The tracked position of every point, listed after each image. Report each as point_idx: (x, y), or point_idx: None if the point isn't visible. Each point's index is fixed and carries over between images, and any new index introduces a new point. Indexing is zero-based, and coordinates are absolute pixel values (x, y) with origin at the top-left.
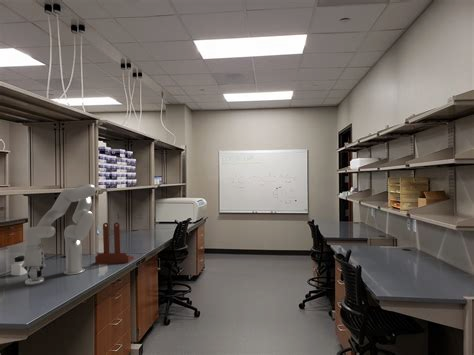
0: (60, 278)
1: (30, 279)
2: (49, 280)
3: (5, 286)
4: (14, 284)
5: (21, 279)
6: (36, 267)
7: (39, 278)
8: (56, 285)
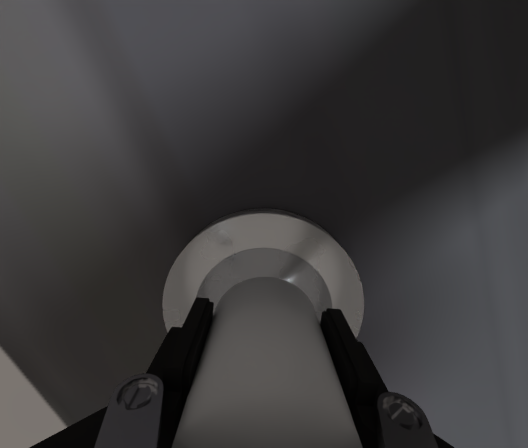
0: (518, 215)
1: (204, 289)
2: (406, 264)
3: (18, 358)
4: (72, 316)
5: (25, 126)
6: (281, 399)
7: (304, 273)
8: (505, 433)
